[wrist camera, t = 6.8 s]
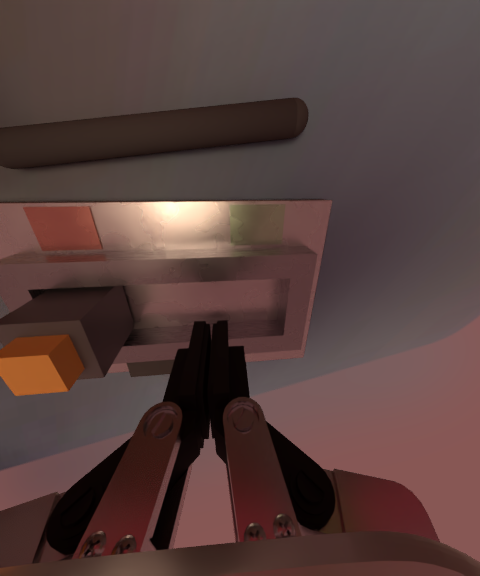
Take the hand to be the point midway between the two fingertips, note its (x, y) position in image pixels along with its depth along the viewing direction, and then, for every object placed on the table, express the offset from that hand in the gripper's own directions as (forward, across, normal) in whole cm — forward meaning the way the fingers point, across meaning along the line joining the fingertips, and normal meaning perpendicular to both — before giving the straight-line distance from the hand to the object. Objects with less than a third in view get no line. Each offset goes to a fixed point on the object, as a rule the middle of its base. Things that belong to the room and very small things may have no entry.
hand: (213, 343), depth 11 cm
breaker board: (+7, +3, +1) cm, 8 cm away
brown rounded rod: (+7, +3, -10) cm, 13 cm away
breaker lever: (+5, +9, +1) cm, 10 cm away
